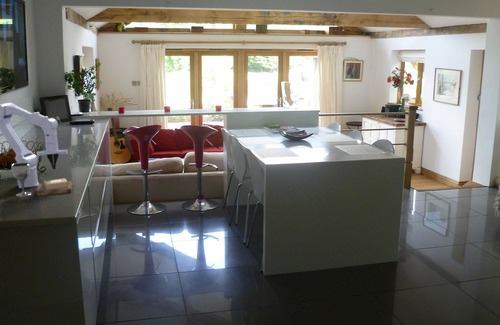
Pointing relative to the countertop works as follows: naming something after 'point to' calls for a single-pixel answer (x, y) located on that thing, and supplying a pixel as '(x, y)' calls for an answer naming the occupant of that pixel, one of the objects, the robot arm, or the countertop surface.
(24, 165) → the wine glass
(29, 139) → the countertop surface
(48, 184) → the carton
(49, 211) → the countertop surface
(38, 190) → the cradle
